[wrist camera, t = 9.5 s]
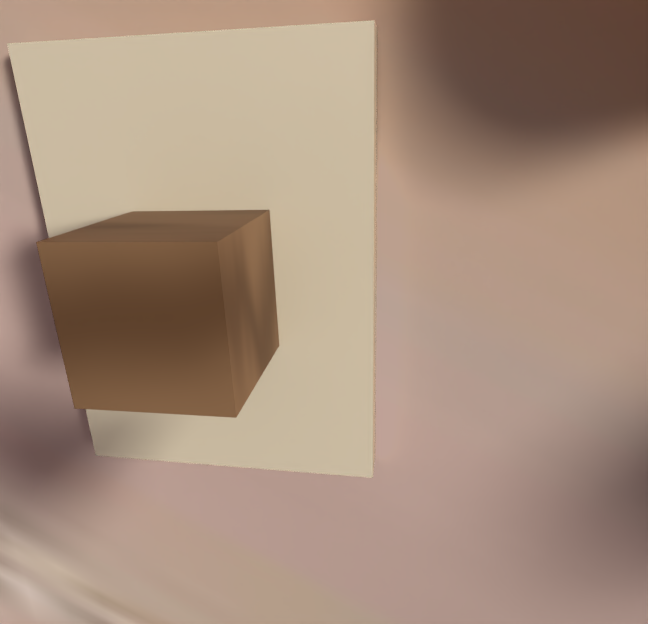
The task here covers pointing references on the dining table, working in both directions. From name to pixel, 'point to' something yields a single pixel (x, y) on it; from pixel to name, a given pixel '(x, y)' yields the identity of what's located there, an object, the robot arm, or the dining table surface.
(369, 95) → the plate
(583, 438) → the dining table surface
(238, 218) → the walnut block
